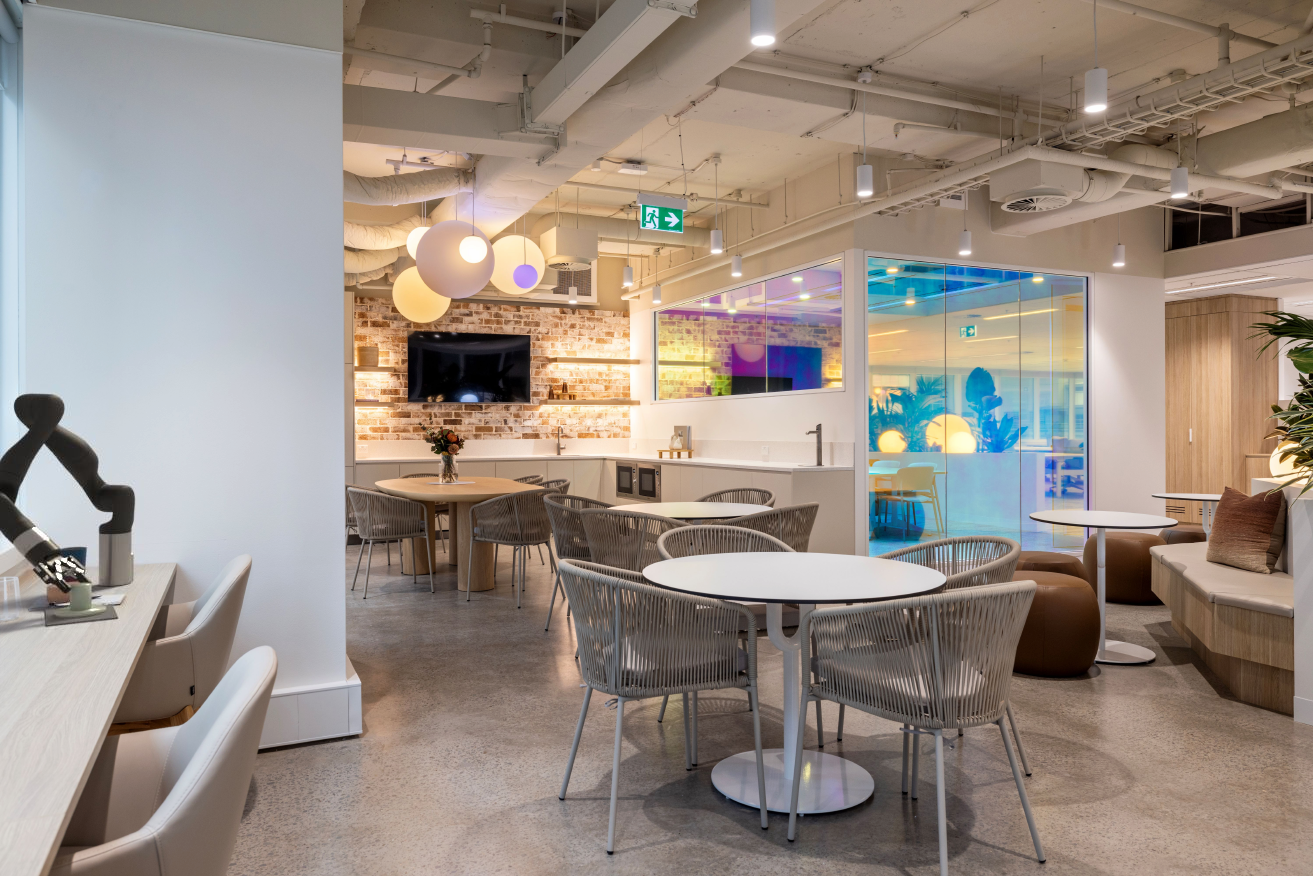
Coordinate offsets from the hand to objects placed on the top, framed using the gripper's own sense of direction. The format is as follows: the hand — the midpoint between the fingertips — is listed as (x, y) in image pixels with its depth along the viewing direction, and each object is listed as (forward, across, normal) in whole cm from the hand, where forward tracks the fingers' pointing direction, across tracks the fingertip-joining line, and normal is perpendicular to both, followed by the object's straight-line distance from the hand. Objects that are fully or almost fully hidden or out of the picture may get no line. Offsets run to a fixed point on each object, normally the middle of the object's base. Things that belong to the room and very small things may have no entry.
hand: (79, 588), depth 235 cm
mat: (+6, 0, +5) cm, 8 cm away
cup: (-7, +24, +18) cm, 31 cm away
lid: (+5, 0, +5) cm, 7 cm away
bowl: (-3, +14, +14) cm, 20 cm away
